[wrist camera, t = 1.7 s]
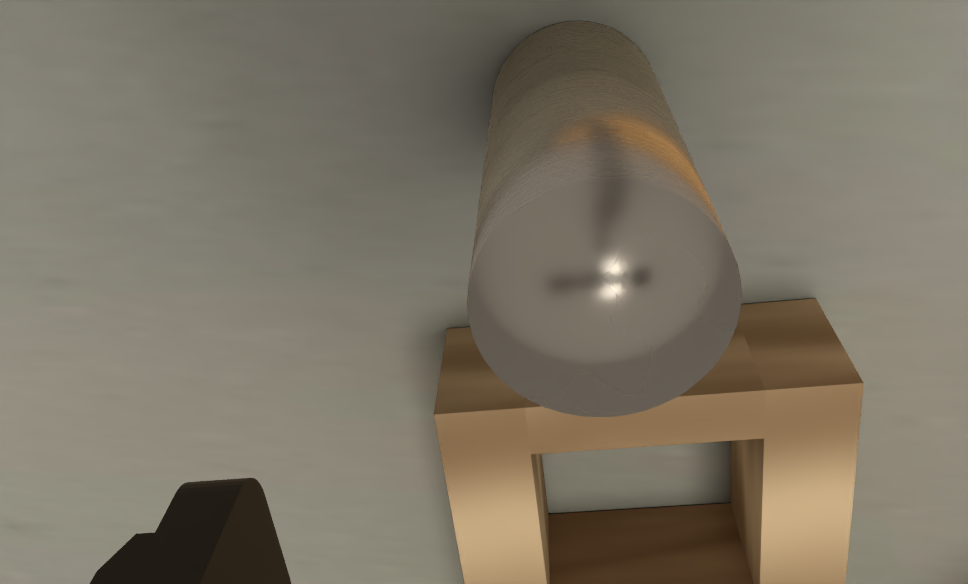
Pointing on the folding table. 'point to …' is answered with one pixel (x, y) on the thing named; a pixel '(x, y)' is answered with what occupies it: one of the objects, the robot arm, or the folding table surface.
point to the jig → (685, 419)
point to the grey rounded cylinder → (595, 233)
